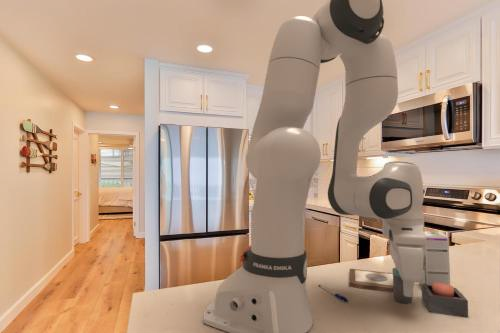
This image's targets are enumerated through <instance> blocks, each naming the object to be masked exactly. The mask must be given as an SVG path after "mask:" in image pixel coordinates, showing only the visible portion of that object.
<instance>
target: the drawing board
mask: <svg viewBox="0 0 500 333" xmlns="http://www.w3.org/2000/svg"><path fill="white" fill-rule="evenodd" d="M349 287H350V288H359V289H366V290H372V291H381V292H388V293H393V272H384V271H377V270H376V271H375V270H367V269H357V268H349Z"/></svg>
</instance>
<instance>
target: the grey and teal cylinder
mask: <svg viewBox="0 0 500 333" xmlns="http://www.w3.org/2000/svg"><path fill="white" fill-rule="evenodd" d="M391 271H392V272H391V273H393V292H392V294H393V295H392V298H393V300H394V301H395V302H397V303H400V304H404V305H411V304H412V303H413V296H412V297H407V296H404V294H403V280H402V279H401V276H400V274H399V272H398V270H397V268H396V267H393V268H392V270H391Z"/></svg>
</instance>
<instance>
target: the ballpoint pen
mask: <svg viewBox="0 0 500 333" xmlns="http://www.w3.org/2000/svg"><path fill="white" fill-rule="evenodd" d="M318 287H319V288H320V289H322V290H324V291H326V292H327V293H329V294H331V295H333V296H335V297H336V298H337V299H340V300H341V301H342V302H345V303H349V300H348V299H347V297H345V296H343V295H342V294H340V293H336V292H334V291H333V290H330V289H329V288H327V287H326V286H323V285H321V284H318Z"/></svg>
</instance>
